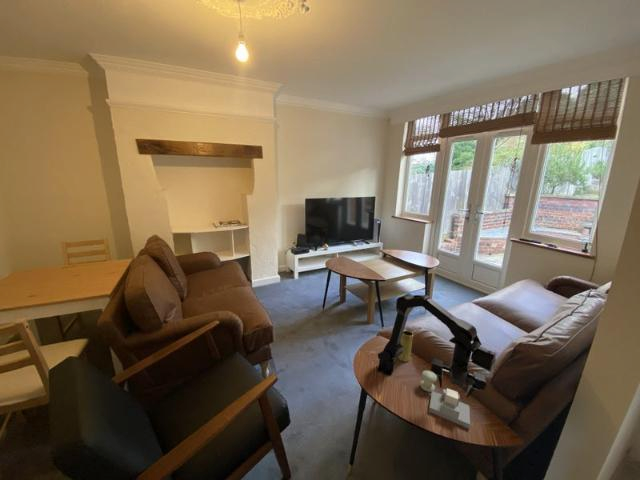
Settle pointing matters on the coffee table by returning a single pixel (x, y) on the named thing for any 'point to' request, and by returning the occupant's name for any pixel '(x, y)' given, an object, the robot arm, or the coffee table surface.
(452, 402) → the block
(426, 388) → the spool
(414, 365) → the coffee table surface
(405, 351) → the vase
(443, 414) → the notch board
